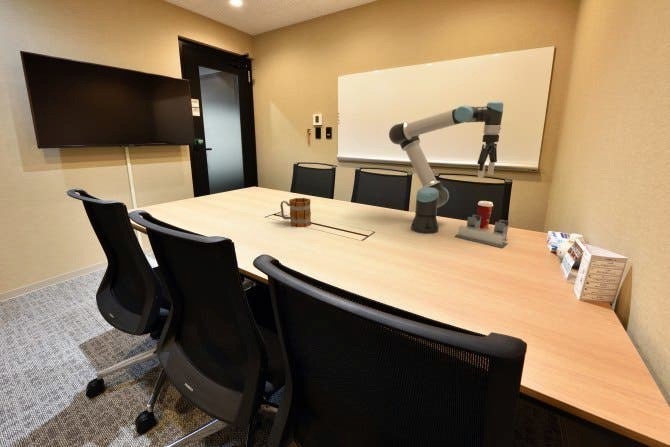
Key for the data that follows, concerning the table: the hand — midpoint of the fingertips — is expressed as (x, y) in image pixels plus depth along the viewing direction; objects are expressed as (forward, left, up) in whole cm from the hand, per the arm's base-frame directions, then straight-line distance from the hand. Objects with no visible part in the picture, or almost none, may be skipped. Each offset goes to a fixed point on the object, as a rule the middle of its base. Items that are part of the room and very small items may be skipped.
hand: (485, 175), depth 165 cm
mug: (-86, -61, -32) cm, 110 cm away
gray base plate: (+6, -13, -32) cm, 35 cm away
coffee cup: (-2, +12, -32) cm, 34 cm away
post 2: (+13, -5, -32) cm, 35 cm away
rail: (+6, -13, -31) cm, 34 cm away
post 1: (-1, -5, -32) cm, 32 cm away
